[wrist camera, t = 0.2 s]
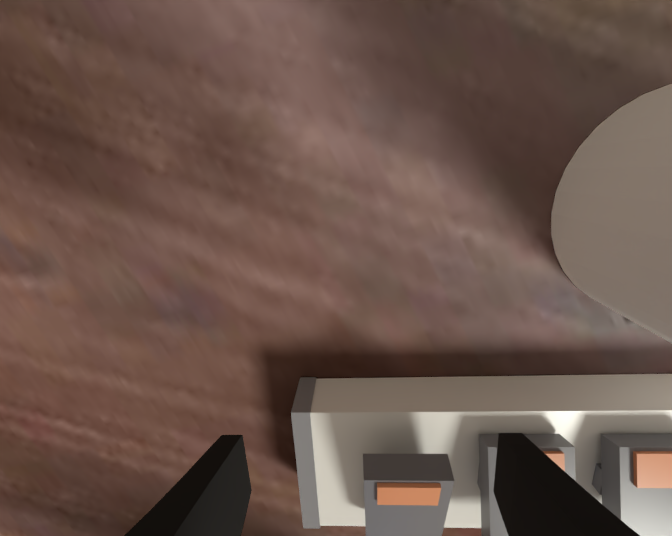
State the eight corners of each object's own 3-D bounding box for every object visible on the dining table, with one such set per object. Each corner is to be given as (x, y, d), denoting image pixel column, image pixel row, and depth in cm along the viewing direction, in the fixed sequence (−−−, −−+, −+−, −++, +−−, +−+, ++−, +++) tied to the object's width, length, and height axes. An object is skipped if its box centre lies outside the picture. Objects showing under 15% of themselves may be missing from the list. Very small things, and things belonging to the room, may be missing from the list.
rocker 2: (562, 549, 17) (580, 575, 15) (481, 548, 17) (492, 573, 16) (559, 433, 17) (577, 449, 15) (478, 433, 17) (489, 449, 16)
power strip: (772, 484, 21) (856, 547, 17) (310, 481, 23) (302, 537, 19) (818, 370, 18) (925, 415, 15) (300, 377, 20) (289, 419, 17)
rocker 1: (436, 513, 19) (441, 544, 17) (365, 512, 19) (366, 542, 18) (447, 453, 16) (455, 485, 14) (362, 453, 16) (363, 485, 15)
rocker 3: (687, 551, 16) (717, 579, 15) (603, 550, 17) (625, 576, 15) (685, 433, 16) (715, 449, 15) (600, 433, 17) (622, 449, 15)
